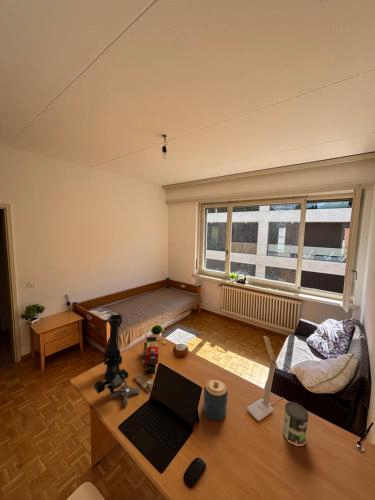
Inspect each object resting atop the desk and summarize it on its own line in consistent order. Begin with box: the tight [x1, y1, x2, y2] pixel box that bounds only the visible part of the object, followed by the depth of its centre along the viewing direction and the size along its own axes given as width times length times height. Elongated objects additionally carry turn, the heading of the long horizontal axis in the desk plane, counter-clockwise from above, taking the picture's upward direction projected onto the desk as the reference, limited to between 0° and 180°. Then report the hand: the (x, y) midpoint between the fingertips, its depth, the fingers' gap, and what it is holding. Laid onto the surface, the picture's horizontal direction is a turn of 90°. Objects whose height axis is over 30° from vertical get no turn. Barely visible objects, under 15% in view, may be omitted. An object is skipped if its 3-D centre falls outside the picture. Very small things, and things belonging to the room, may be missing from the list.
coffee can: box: [282, 401, 310, 444], centre depth 102 cm, size 10×10×14 cm
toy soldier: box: [141, 336, 159, 377], centre depth 152 cm, size 14×12×30 cm
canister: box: [202, 379, 229, 422], centre depth 114 cm, size 13×13×18 cm
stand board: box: [133, 372, 154, 394], centre depth 132 cm, size 16×6×4 cm, turn 47°
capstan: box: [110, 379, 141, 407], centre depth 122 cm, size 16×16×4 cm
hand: (111, 393), depth 121 cm, fingers closed
